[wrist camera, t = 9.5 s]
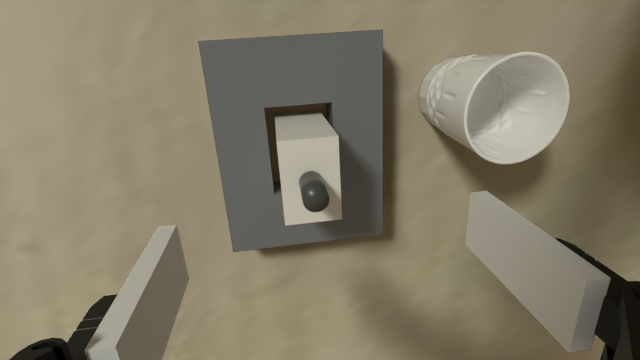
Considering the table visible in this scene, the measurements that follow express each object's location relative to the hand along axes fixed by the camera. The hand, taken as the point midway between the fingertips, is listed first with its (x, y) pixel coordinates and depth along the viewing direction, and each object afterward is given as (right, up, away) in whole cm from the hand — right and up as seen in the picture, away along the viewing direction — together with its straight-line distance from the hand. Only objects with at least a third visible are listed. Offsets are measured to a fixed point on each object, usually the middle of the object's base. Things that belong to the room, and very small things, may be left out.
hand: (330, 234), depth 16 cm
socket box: (-2, +6, +18) cm, 19 cm away
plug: (-2, +6, +17) cm, 18 cm away
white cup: (+12, +11, +19) cm, 25 cm away
